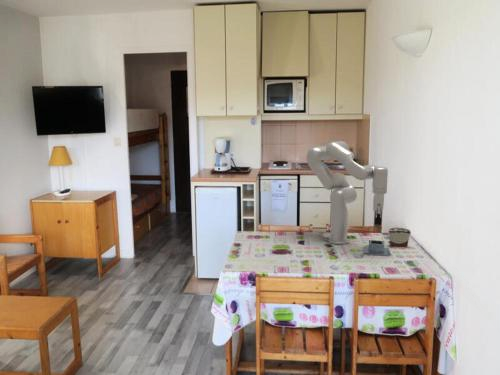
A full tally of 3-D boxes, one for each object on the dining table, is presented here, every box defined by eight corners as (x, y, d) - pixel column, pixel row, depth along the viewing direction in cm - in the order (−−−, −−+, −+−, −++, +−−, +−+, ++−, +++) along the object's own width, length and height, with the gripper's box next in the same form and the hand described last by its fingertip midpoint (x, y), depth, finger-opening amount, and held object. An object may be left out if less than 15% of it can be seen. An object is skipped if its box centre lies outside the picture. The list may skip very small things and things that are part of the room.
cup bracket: (362, 254, 234) (363, 244, 233) (362, 247, 246) (363, 238, 245) (390, 256, 231) (390, 246, 230) (389, 249, 242) (389, 240, 241)
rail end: (373, 229, 234) (374, 211, 233) (373, 227, 238) (374, 209, 236) (381, 230, 233) (382, 211, 232) (381, 228, 237) (382, 210, 235)
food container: (407, 244, 251) (408, 227, 249) (410, 247, 245) (411, 230, 243) (385, 243, 252) (386, 227, 250) (387, 247, 246) (388, 230, 244)
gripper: (371, 187, 241) (370, 219, 244) (372, 192, 225) (370, 226, 228) (386, 187, 239) (384, 220, 242) (387, 193, 223) (385, 227, 226)
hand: (377, 223), depth 235 cm, fingers closed on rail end, 4 cm apart
